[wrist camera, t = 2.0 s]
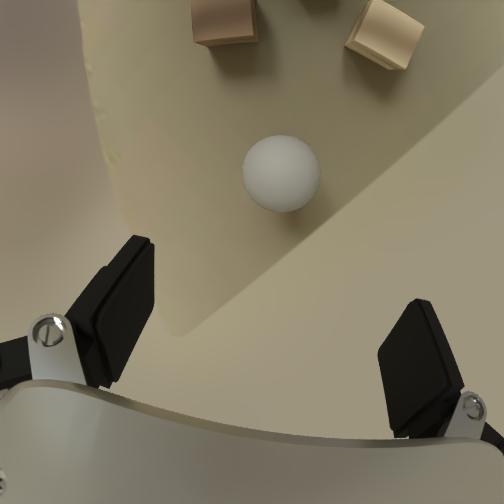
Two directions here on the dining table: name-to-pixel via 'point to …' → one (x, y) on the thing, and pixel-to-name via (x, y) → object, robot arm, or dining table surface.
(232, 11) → the walnut cube
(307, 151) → the lightbulb
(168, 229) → the dining table surface
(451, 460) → the robot arm
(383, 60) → the beech cube
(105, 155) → the dining table surface
